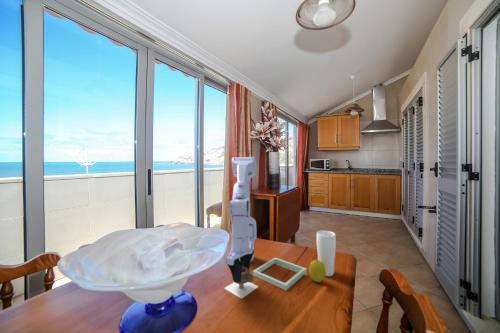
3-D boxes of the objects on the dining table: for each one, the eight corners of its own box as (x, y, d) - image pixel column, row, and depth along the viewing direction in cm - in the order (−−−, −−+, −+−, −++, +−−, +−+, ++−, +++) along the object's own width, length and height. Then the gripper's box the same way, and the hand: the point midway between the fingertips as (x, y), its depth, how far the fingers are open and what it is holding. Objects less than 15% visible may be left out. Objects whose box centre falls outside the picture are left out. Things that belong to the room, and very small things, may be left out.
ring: (230, 281, 67) (229, 272, 67) (237, 273, 72) (237, 264, 72) (249, 286, 64) (249, 277, 64) (255, 277, 69) (255, 268, 69)
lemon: (326, 288, 69) (326, 264, 69) (309, 286, 70) (309, 262, 70) (324, 279, 74) (324, 256, 74) (308, 277, 75) (308, 255, 75)
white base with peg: (224, 291, 68) (223, 276, 68) (241, 280, 74) (240, 267, 74) (241, 301, 63) (241, 286, 63) (258, 289, 69) (258, 275, 69)
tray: (252, 277, 76) (252, 271, 76) (274, 263, 86) (274, 257, 86) (286, 293, 67) (286, 285, 66) (306, 275, 77) (306, 268, 77)
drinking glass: (316, 276, 76) (315, 235, 76) (317, 267, 83) (316, 229, 82) (336, 279, 74) (336, 237, 73) (335, 270, 80) (335, 231, 80)
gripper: (241, 245, 60) (242, 292, 60) (260, 230, 73) (260, 268, 73) (220, 242, 63) (221, 286, 63) (242, 227, 76) (242, 264, 76)
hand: (241, 276), depth 68 cm, fingers closed on ring, 5 cm apart
